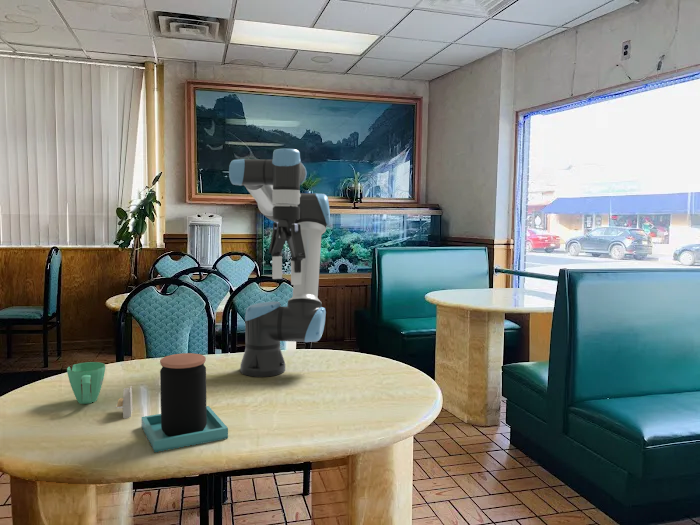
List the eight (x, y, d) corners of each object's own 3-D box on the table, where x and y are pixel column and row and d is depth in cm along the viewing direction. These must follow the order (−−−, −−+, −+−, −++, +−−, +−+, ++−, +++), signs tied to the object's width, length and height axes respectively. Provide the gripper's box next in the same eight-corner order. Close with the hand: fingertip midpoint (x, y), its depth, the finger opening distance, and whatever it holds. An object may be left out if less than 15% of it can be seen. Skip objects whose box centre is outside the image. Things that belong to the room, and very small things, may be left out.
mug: (68, 397, 162) (67, 364, 161) (105, 393, 166) (104, 360, 165) (67, 415, 149) (65, 378, 148) (107, 409, 153) (106, 374, 152)
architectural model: (116, 420, 147) (116, 393, 146) (119, 411, 153) (118, 385, 153) (130, 419, 148) (130, 392, 147) (132, 410, 154) (132, 384, 154)
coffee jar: (215, 425, 142) (214, 355, 140) (189, 441, 131) (188, 366, 130) (179, 419, 145) (178, 351, 143) (152, 435, 135) (150, 362, 133)
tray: (141, 426, 142) (141, 416, 141) (208, 415, 150) (208, 405, 150) (154, 452, 127) (154, 441, 127) (228, 438, 135) (227, 427, 135)
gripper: (318, 205, 147) (317, 286, 149) (281, 205, 169) (281, 275, 171) (291, 205, 143) (291, 288, 145) (257, 205, 165) (258, 277, 167)
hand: (286, 281), depth 158 cm, fingers open, 13 cm apart
